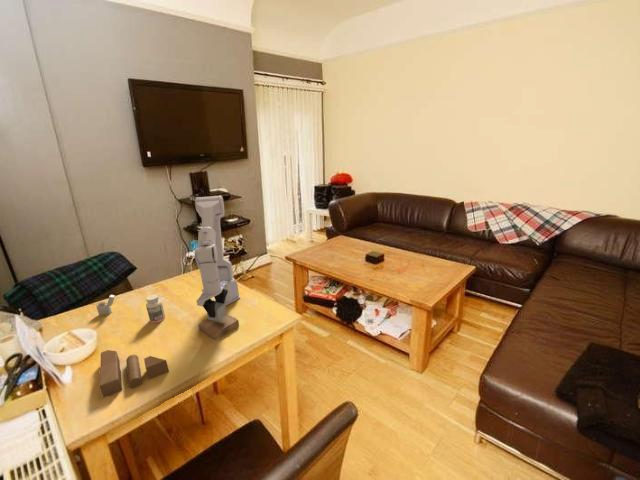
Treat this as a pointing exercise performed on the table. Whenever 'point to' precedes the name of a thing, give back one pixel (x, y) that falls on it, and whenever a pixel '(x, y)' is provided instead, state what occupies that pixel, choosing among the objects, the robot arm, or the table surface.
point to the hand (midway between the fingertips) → (216, 313)
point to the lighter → (105, 306)
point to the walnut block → (218, 326)
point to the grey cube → (218, 312)
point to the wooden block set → (112, 373)
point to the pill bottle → (155, 309)
